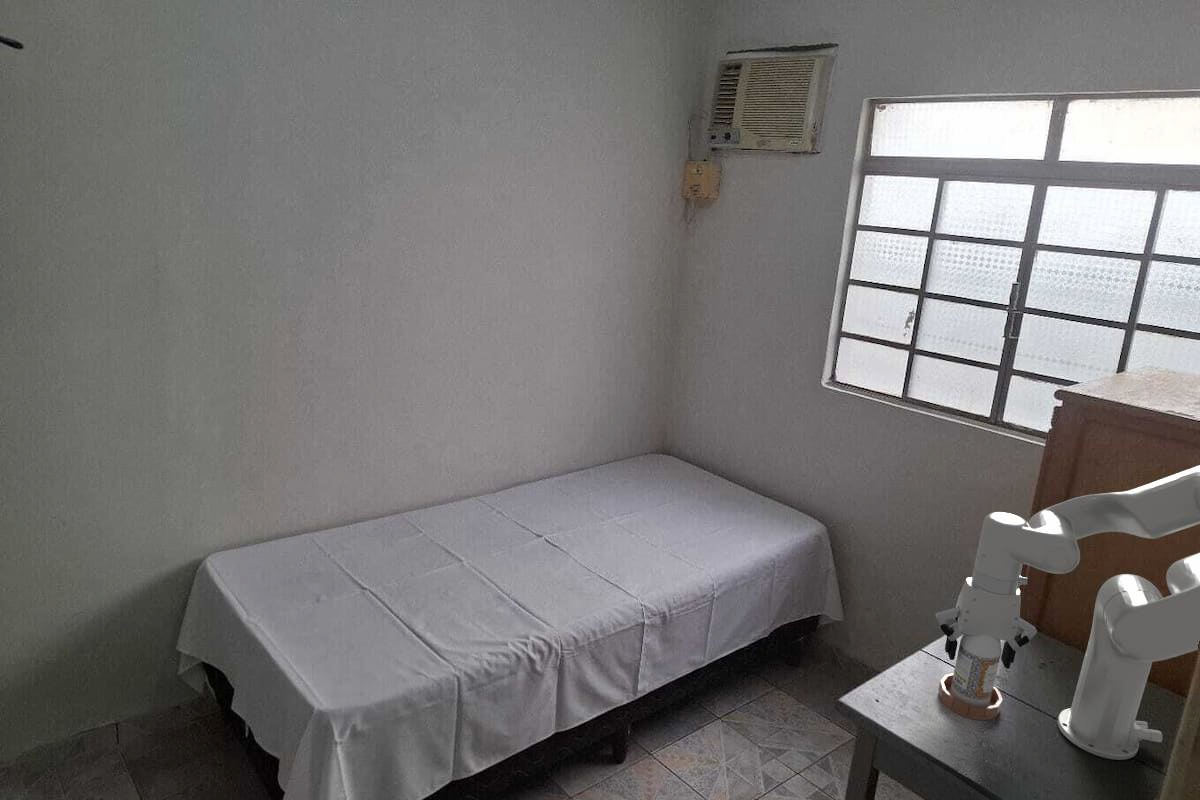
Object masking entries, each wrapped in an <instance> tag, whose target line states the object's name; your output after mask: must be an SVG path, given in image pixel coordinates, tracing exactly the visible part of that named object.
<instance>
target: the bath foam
mask: <svg viewBox="0 0 1200 800" xmlns="http://www.w3.org/2000/svg"><path fill="white" fill-rule="evenodd" d="M956 655H957V656H956V661H955V666H954V671H953V673H954V675H953V679H952V685H951V690H950V694H951V695H952V696H954V697H955V698H956V699H958V700H960V701H962V702H965V703H967V704H969V705H974V706H980V707H987V706H989V703H990V699H991V695H992V691H993V686H994V685H995V681H996V677H997V673H998V667H999V663H1000V660H1001V656H1002V642H1001V640H999V639H994V638H993V637H991V636H988V635H981V636H972V635H967V634H963V635H962V636H961V639H960V642H959V647H958V651H957V654H956ZM994 687H995V686H994Z"/></svg>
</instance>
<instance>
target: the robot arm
mask: <svg viewBox="0 0 1200 800" xmlns="http://www.w3.org/2000/svg"><path fill="white" fill-rule="evenodd" d="M1198 525H1200V464H1199V465H1196V466H1193V467H1191V468H1188V469H1185V470H1182V471H1180V472H1177V473H1175V474H1171V475H1169V476H1166V477H1163V478H1161V479H1157V480H1155V481H1152V482H1150V483H1147V484H1144V485H1141V486H1138V487H1135V488H1132V489H1129V490H1125V491H1115V492H1105V493H1103V492H1102V493H1095V494H1087V495H1082V496H1077V497H1074V498H1070V499H1067V500H1065V501H1063V502H1059V503H1057V504H1054V505H1051V506H1049V507H1046V508H1043V509H1042V510H1039V511H1038V512H1036V513H1035V514H1033V515H1032V516H1031V517H1030V518H1029V520H1025V519H1024V518H1023V517H1021V516H1019V515H1016V514H1013V513H1010V512H1003V511H994V512H990V513H989V514H987V515H986V516H985V517H984V519H983V522H982V527H981V532H980V536H979V542H978V548H977V550H976V551H977V552H976V554H975V555H976V556H975V561H974V565H973V570H972V576H971V577H967V578H966V579H965V580H964V583H963V585H962V588H961V590H960V593H959V595H958V599H957V602H956V604H955V607H952V608H950V609H949V608H948V609H946V610H942V611H938V612H936V613H935V618H936V619H937V622H938V625H939V627H940V630H941V631H942V632H943V634H944V635H945V636H946V639H945V646H944V651H945V653H947V655H948V658H949V660H951V661H954V660H955V659H956V655H957V653H956V652H957V648H958V644H959V643H958V639H959V638H960V637H962V636H963V634H967V635H972V636H981V635H988V636H991V637H993V638H994V639H999V640H1000V641H1005V642H1004V644H1003V648H1002V649H1003V650H1002V651H1001V655H1000V660H1001V662H1002V664H1003V666H1004V668H1005V669H1008V670H1009V669H1011V664H1013V663H1014V662H1015V657H1016V652H1017V651H1020V649H1021V647H1023V646H1024V645H1027V644H1028V643H1029V642H1030V640H1032V638H1034V637H1035V636H1036V634H1037V633H1038V631H1037V628H1036V626H1034V625H1032V624H1031V623H1029V622H1028V621H1026V620H1024V619H1023V618H1021V617H1020V616H1021V590H1020V586H1024V585H1025V586H1026V585H1028V582H1029V581H1028V577H1023V576H1022V575H1021V574H1022V569H1023V565H1027V566H1030V567H1032V568H1035V569H1037V570H1040V571H1042V572H1045V573H1050V574H1058V575H1062V574H1067V573H1070V572H1072V571H1073V570H1075V569H1076V567H1077V566H1078V565H1079V563H1080V560H1081V551H1080V548H1079V545H1078V540H1081V539H1083V538H1086V537H1089V536H1093V535H1096V534H1100V533H1101V534H1102V533H1109V532H1115V533H1116V532H1117V533H1125V534H1129V535H1133V536H1137V537H1139V538H1145V539H1159V538H1161V537H1164V536H1167V535H1170V534H1173V533H1177V532H1179V531H1182V530H1185V529H1188V528H1192V527H1194V526H1198ZM1165 581H1166V585H1167V588H1168V590H1169V591H1170V594H1171V595H1168V596H1165V597H1163V595H1162V593H1161V592H1160V590H1159V589H1158V588H1157V586H1155V585H1154V584H1153V583H1152V582H1151V581H1150V580H1148V579H1146V578H1144V577H1142V576H1140V575H1138V574H1137V575H1136V574H1133V573H1132V574H1130V573H1123V574H1122V573H1121V574H1116V575H1114V576H1112V577H1110V578H1108V579H1107V580H1106V581H1105V582H1104V583H1103V584H1102V585H1101V587H1100V589H1098V592H1097V595H1096V599H1095V604H1094V611H1093V619H1092V623H1091V624H1092V626H1091V630H1090V635H1089V638H1088V639H1089V640H1088V644H1087V647H1086V651H1085V653H1084V654H1085V655H1084V657H1083V661H1082V664H1081V668H1080V669H1081V670H1080V673H1079V676H1078V681H1077V685H1076V689H1075V691H1074V696H1073V700H1072V703H1071V707H1069V708H1068V707H1067V708H1066V709H1063V710H1061V711H1060V712H1059V714H1058V717H1057V726H1058V729H1059V731H1060V732H1061V733H1062V734H1063V736H1065V737H1066V738H1067V740H1069V741H1070V742H1071V743H1072V744H1074V745H1075V746H1077V747H1078V748H1079V749H1081V750H1084V751H1085V752H1087V753H1090V754H1092V755H1094V756H1098V757H1101V758H1105V759H1108V760H1117V761H1118V760H1119V761H1123V760H1129V759H1131V758H1134V757H1135V756H1136V755H1137V753H1138V750H1139V746H1140V744H1139V741H1142V740H1146V741H1147V740H1148V741H1151V742H1158V743H1162V741H1163V733H1162V732H1161V731H1160V730H1159V729H1158V730H1156V729H1152V728H1149V724H1148V722H1147V721H1142V720H1136V719H1137V716H1138V715H1137V714H1138V711H1139V708H1140V704H1141V701H1142V699H1143V694H1144V691H1145V687H1146V685H1147V682H1148V677H1149V675H1150V672H1151V669H1152V665H1153V662H1159V661H1165V660H1168V659H1172V658H1177V657H1179V656H1184V655H1185V654H1188V653H1192V652H1195V651H1199V650H1198V644H1199V641H1200V552H1197V553H1195V554H1192V555H1188V556H1186V557H1184V558H1182V559H1179V560H1176V561H1175V562H1174V563H1172V564H1170V566H1169V567H1168V569H1167V571H1166V576H1165ZM951 619H953V620H954V622H953V623H952V624H951V625H949V624H948V623H947V620H951ZM1019 628H1020V629H1022V630H1023V632H1021V633H1019V634H1018V629H1019Z"/></svg>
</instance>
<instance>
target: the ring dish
mask: <svg viewBox="0 0 1200 800" xmlns="http://www.w3.org/2000/svg"><path fill="white" fill-rule="evenodd" d="M953 675H954V672H950V673H946V674H944V676H943V677H942V678H941V679H940V680H939V685H938V697H939V699H940V701H941V703H942V704H943V705H944V706H945V707H946V708H947V709H949V710H950V711H951V712H954V713H955V714H957V715H959V716H960V717H964V718H967V719H969V720H974V721H981V722H982V721H991V720H993V719H995V718H997V716H998V715H999V713H1000V710H1001V709H1002V705H1003V700H1004V699H1003V696H1002V694H1001V692H1000V689H998V688H997V687H996V686H993V691H992V695H991V699H990V703H989V706H987V707H980V706H974V705H969V704H967V703H965V702H962V701H960V700H958V699H956V698H955V697H954V696H952V695H951V694H950V690H951V685H952V679H953Z"/></svg>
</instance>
